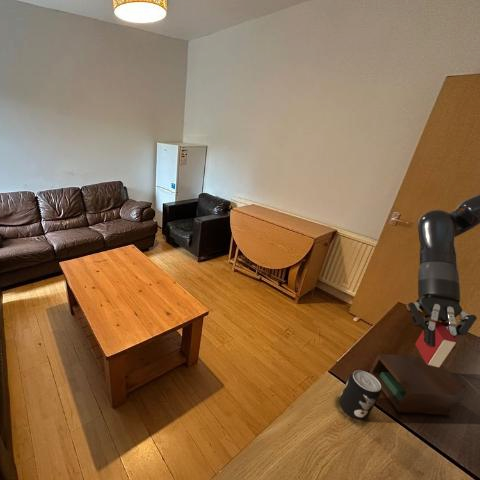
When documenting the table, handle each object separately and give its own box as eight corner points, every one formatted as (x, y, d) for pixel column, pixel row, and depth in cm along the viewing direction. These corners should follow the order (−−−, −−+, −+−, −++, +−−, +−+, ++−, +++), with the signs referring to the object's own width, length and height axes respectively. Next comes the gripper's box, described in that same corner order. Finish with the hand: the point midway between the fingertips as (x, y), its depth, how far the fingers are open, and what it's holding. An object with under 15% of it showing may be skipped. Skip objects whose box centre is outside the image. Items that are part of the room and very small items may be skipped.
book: (427, 347, 70) (442, 322, 66) (440, 368, 64) (457, 342, 60) (414, 344, 71) (429, 319, 67) (426, 364, 65) (443, 339, 61)
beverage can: (342, 417, 68) (356, 388, 62) (334, 394, 73) (347, 366, 68) (371, 425, 66) (388, 396, 61) (361, 401, 71) (376, 372, 66)
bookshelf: (409, 374, 79) (425, 348, 74) (446, 414, 68) (467, 388, 63) (368, 372, 79) (381, 346, 75) (398, 411, 69) (415, 385, 64)
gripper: (412, 272, 67) (412, 339, 63) (485, 284, 62) (491, 358, 57) (397, 278, 74) (396, 339, 69) (462, 290, 69) (465, 356, 64)
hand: (439, 348), depth 63 cm, fingers closed on book, 2 cm apart
